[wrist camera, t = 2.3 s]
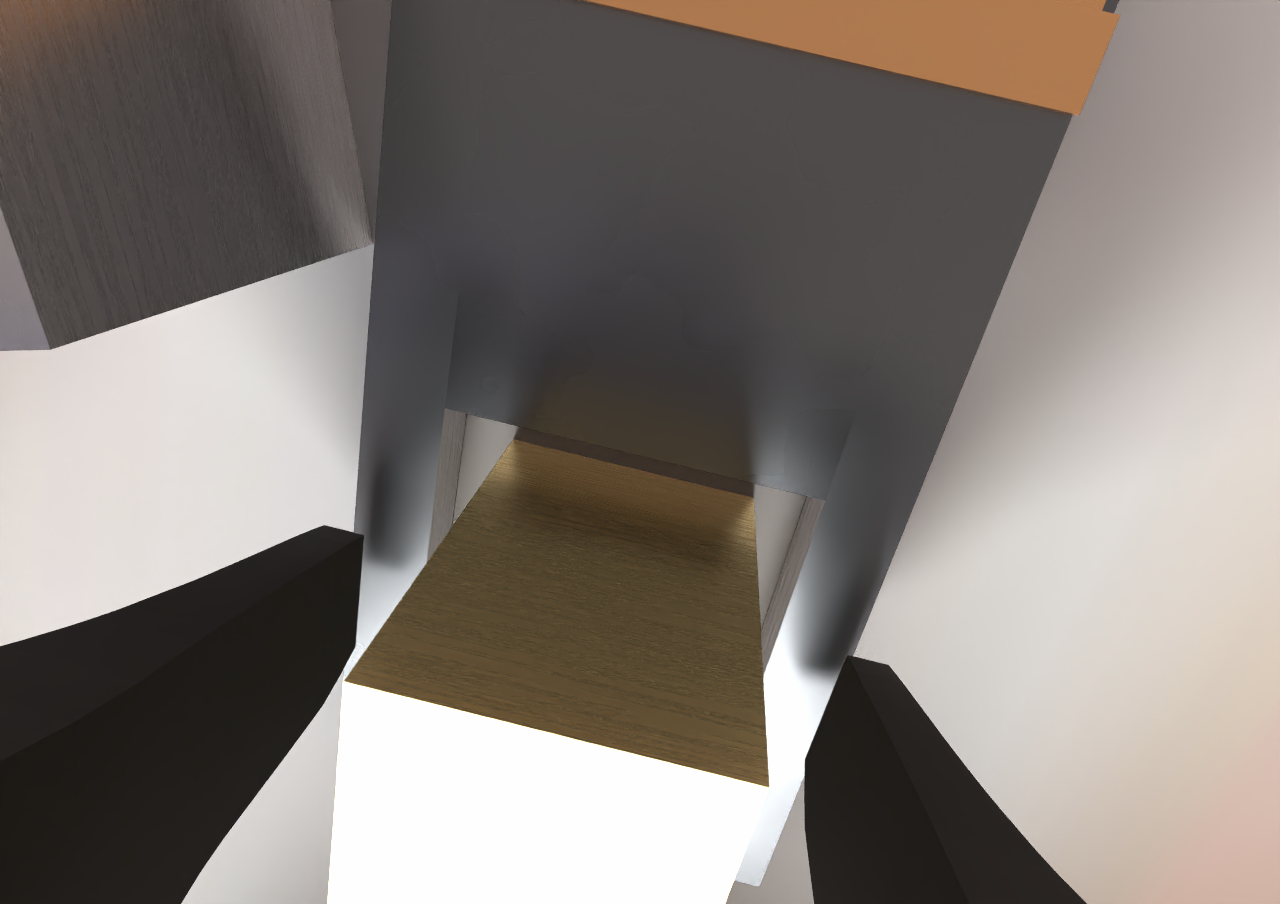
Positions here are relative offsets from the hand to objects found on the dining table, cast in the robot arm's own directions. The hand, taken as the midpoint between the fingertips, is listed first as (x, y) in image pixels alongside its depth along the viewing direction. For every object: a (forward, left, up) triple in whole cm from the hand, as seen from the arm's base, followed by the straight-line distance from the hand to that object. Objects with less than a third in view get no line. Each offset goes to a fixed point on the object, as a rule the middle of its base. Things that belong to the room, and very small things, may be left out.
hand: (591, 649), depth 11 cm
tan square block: (0, 0, -2) cm, 2 cm away
